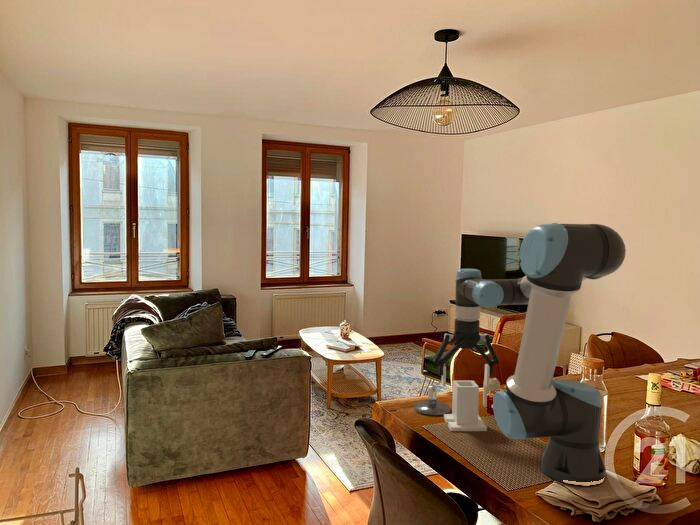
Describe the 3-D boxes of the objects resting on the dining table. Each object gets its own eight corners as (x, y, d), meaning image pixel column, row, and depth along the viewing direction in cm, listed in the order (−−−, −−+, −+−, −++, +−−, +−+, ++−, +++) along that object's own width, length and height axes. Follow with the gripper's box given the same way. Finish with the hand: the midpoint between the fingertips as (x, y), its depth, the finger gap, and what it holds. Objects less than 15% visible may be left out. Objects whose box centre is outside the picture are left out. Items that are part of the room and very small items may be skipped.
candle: (497, 403, 185) (498, 375, 184) (500, 409, 179) (501, 380, 178) (481, 403, 185) (482, 375, 184) (484, 408, 180) (484, 380, 179)
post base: (453, 415, 173) (454, 392, 172) (416, 416, 173) (417, 392, 172) (446, 403, 185) (446, 380, 184) (411, 403, 185) (412, 380, 184)
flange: (477, 417, 172) (478, 378, 171) (486, 431, 161) (488, 389, 160) (443, 417, 171) (444, 378, 170) (450, 431, 160) (451, 389, 159)
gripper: (503, 316, 167) (500, 381, 169) (425, 316, 167) (423, 381, 169) (511, 321, 160) (508, 389, 162) (429, 321, 159) (427, 389, 161)
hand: (465, 385), depth 165 cm, fingers open, 13 cm apart
